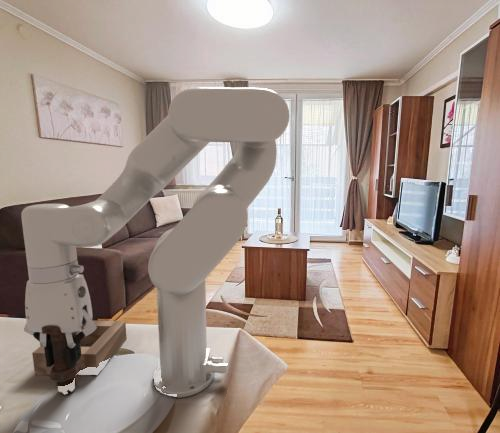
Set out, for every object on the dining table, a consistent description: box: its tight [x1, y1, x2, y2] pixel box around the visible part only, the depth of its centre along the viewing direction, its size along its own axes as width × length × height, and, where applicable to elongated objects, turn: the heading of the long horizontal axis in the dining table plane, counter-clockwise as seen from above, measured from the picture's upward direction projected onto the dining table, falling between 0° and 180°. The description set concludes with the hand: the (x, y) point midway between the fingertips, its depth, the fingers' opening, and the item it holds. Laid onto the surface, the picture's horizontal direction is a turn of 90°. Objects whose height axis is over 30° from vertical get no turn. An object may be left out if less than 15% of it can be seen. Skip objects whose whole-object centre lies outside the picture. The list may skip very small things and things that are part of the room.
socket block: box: [31, 319, 127, 376], centre depth 67 cm, size 14×14×5 cm
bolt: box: [42, 326, 79, 387], centre depth 56 cm, size 6×5×15 cm
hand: (64, 361), depth 56 cm, fingers closed on bolt, 3 cm apart
